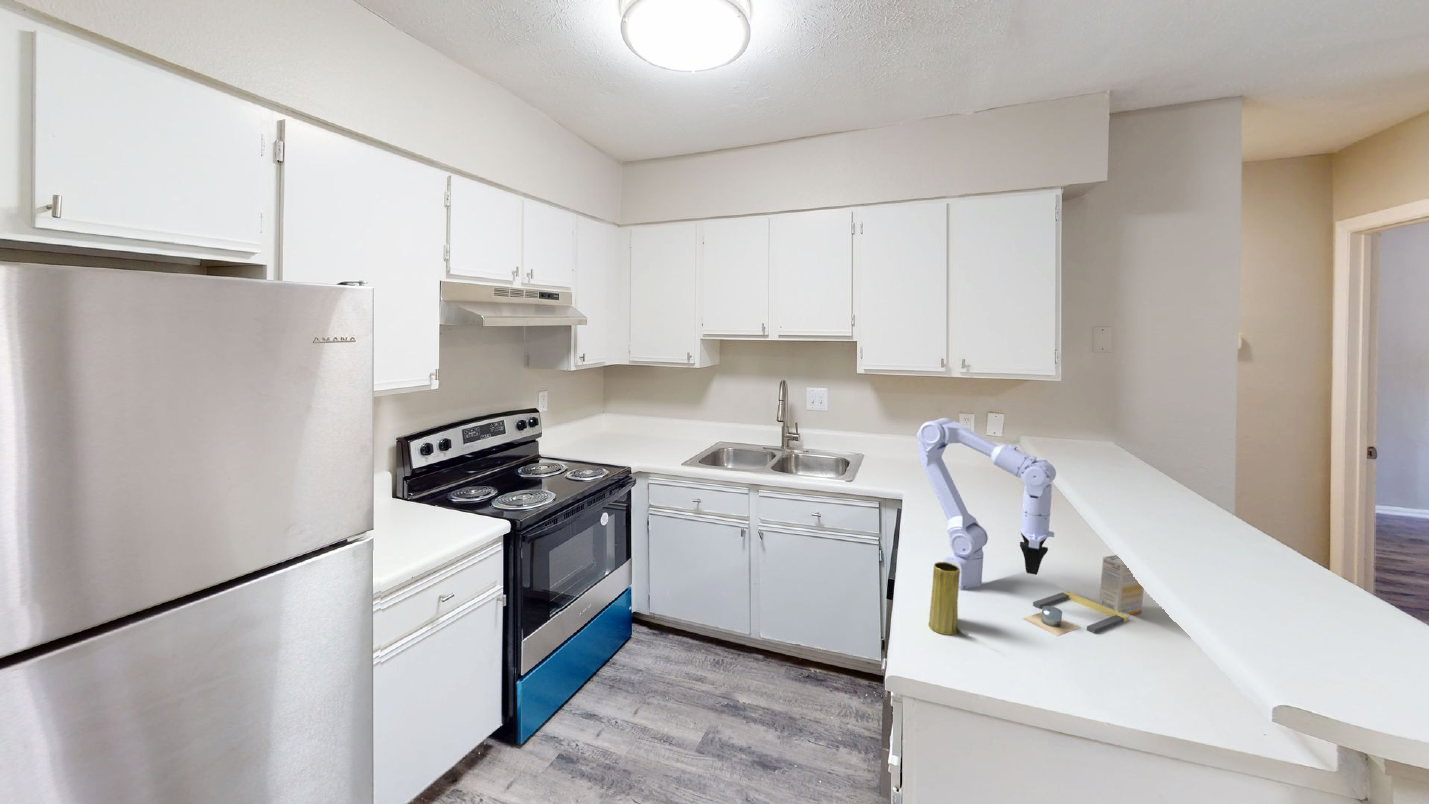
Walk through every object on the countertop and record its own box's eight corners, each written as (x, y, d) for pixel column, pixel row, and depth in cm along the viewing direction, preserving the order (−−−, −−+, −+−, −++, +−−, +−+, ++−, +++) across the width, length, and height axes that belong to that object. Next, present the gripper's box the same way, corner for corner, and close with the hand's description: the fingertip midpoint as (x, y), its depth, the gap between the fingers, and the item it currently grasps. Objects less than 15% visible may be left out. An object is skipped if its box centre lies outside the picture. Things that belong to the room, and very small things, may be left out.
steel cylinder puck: (1054, 628, 122) (1055, 615, 122) (1037, 620, 125) (1038, 608, 125) (1064, 624, 124) (1066, 612, 123) (1048, 617, 127) (1049, 604, 127)
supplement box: (1121, 603, 137) (1127, 552, 135) (1142, 613, 132) (1147, 559, 131) (1096, 608, 134) (1102, 556, 132) (1117, 618, 130) (1122, 564, 128)
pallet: (1056, 644, 119) (1057, 635, 119) (1021, 627, 126) (1022, 618, 126) (1079, 635, 123) (1080, 627, 123) (1044, 619, 130) (1044, 610, 130)
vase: (952, 638, 121) (956, 575, 119) (923, 628, 125) (927, 566, 123) (961, 627, 125) (965, 566, 123) (934, 618, 129) (937, 558, 127)
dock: (1093, 640, 120) (1094, 629, 120) (1032, 611, 133) (1033, 601, 132) (1127, 626, 126) (1128, 616, 126) (1065, 600, 138) (1066, 590, 138)
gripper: (1056, 524, 124) (1052, 582, 126) (1055, 506, 137) (1050, 560, 138) (1020, 518, 128) (1016, 576, 129) (1021, 502, 140) (1018, 554, 142)
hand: (1031, 567), depth 134 cm, fingers open, 7 cm apart
